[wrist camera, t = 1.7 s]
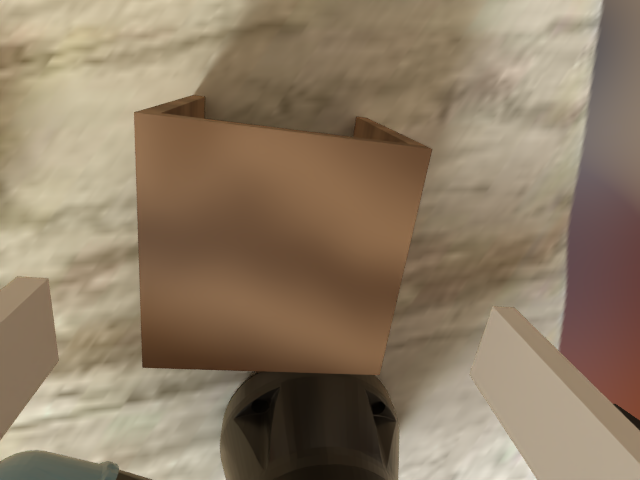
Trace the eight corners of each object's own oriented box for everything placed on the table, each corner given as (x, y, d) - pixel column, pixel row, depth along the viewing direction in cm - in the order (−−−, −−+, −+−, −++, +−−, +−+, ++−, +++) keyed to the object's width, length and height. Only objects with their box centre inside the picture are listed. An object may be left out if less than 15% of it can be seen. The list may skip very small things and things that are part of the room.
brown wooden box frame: (341, 268, 31) (379, 375, 20) (190, 257, 29) (142, 367, 18) (366, 118, 27) (432, 149, 16) (193, 95, 25) (134, 112, 14)
